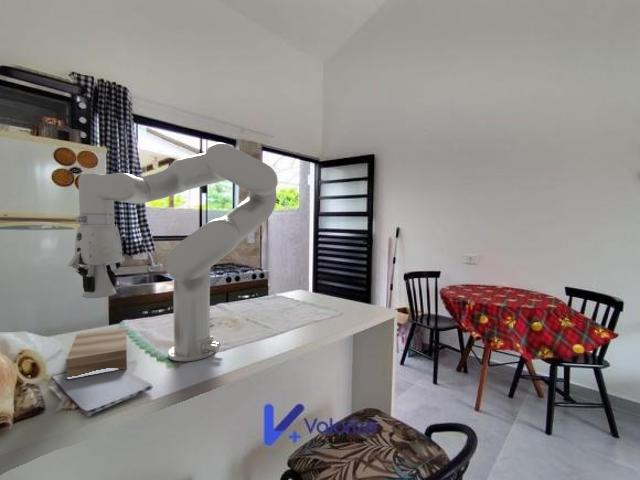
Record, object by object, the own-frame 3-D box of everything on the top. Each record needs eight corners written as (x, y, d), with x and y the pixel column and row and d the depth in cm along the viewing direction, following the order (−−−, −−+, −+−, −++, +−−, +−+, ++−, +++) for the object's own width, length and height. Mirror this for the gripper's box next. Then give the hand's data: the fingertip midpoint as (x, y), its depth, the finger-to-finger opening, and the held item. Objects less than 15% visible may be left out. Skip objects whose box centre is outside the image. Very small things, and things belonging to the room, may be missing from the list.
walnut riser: (77, 351, 92) (77, 333, 92) (126, 343, 98) (126, 327, 98) (66, 380, 75) (66, 359, 75) (126, 368, 81) (126, 349, 81)
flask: (99, 300, 82) (97, 260, 81) (75, 298, 83) (74, 260, 83) (122, 293, 89) (121, 257, 88) (100, 292, 90) (99, 257, 90)
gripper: (73, 221, 76) (76, 297, 77) (136, 221, 92) (138, 284, 93) (52, 221, 78) (55, 295, 79) (116, 221, 94) (118, 283, 95)
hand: (99, 288), depth 86 cm, fingers closed on flask, 4 cm apart
